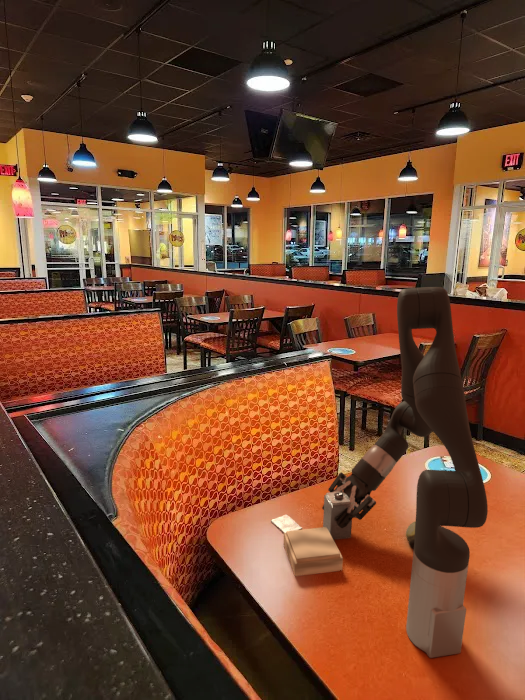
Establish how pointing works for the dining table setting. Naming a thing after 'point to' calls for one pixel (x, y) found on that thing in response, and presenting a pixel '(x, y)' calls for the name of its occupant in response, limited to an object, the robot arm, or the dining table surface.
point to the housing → (336, 514)
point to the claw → (411, 534)
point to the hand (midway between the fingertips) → (331, 518)
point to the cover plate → (285, 524)
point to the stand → (312, 551)
